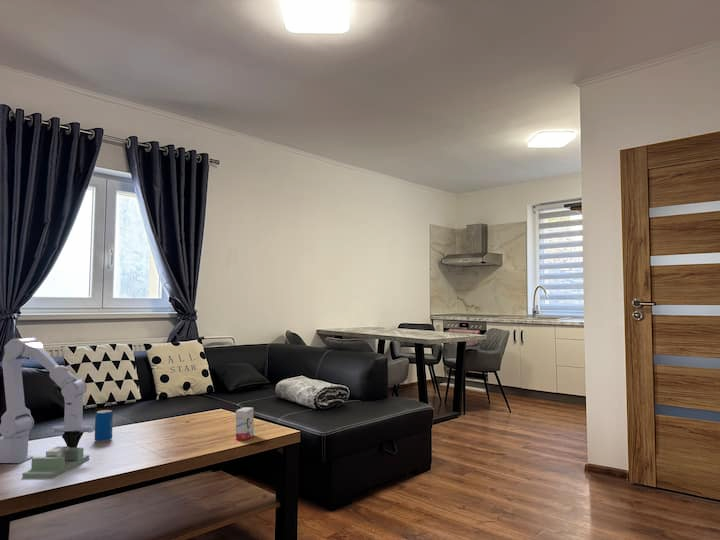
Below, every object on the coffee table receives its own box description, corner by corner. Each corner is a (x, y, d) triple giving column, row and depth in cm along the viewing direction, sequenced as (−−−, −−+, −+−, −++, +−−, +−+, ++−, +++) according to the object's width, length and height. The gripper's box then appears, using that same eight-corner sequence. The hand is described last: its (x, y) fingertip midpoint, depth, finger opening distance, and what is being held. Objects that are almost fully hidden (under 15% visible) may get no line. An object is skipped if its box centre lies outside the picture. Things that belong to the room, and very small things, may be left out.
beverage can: (107, 442, 199) (108, 412, 200) (91, 442, 199) (92, 413, 200) (115, 438, 206) (115, 409, 207) (99, 438, 206) (100, 409, 207)
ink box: (246, 440, 201) (246, 411, 202) (234, 440, 202) (235, 411, 203) (254, 435, 209) (254, 407, 210) (243, 434, 210) (243, 406, 211)
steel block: (45, 466, 164) (45, 451, 165) (56, 461, 170) (57, 446, 171) (56, 466, 164) (57, 451, 165) (68, 461, 170) (68, 446, 171)
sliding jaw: (48, 460, 171) (49, 450, 171) (55, 457, 174) (56, 447, 175) (76, 460, 170) (76, 450, 170) (83, 457, 174) (83, 447, 174)
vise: (22, 478, 158) (23, 462, 158) (62, 459, 178) (62, 445, 178) (52, 478, 158) (53, 462, 158) (88, 459, 177) (89, 445, 178)
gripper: (46, 416, 173) (45, 456, 172) (86, 416, 173) (85, 456, 172) (59, 412, 180) (58, 450, 179) (97, 412, 180) (96, 450, 179)
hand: (72, 452), depth 176 cm, fingers closed, pressing on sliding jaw
